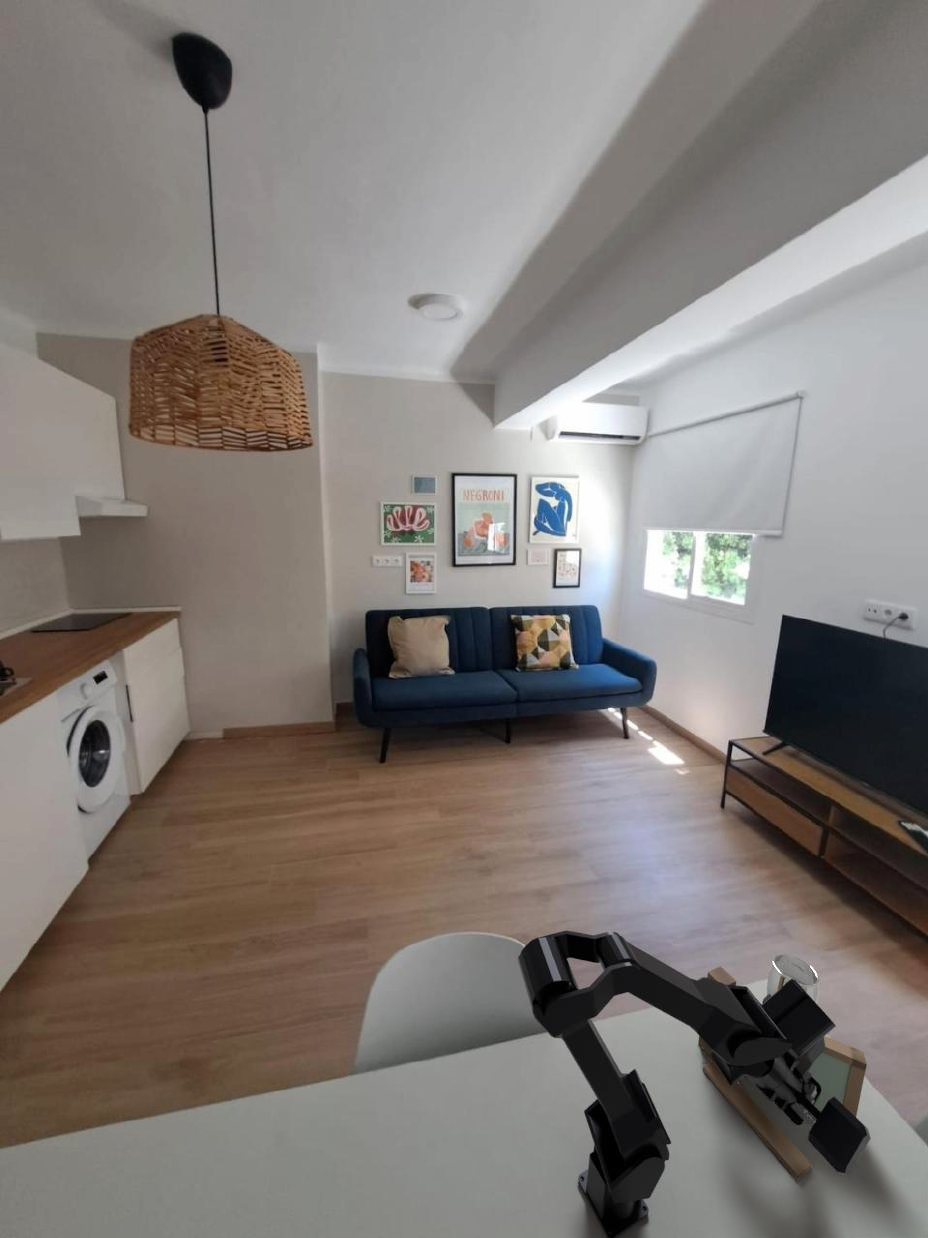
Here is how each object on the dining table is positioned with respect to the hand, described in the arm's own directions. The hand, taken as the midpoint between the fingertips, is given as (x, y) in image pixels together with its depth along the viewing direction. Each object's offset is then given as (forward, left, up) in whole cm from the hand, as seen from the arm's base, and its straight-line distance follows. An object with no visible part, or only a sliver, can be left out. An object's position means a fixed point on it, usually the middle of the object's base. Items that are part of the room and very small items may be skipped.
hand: (799, 1094), depth 70 cm
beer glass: (+12, +9, -7) cm, 16 cm away
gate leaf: (+5, +4, -6) cm, 9 cm away
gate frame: (-2, +5, -7) cm, 9 cm away
